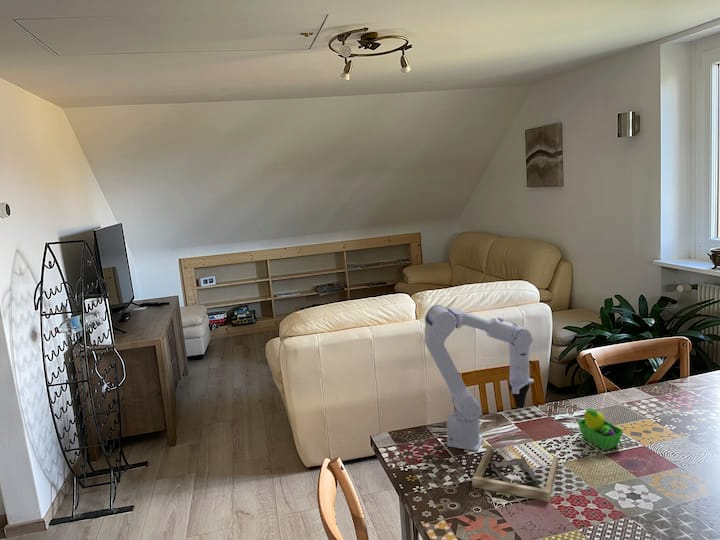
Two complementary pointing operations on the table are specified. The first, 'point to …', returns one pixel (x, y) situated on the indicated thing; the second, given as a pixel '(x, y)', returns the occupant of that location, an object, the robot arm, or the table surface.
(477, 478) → the frame
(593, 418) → the fruit basket
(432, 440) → the table surface
